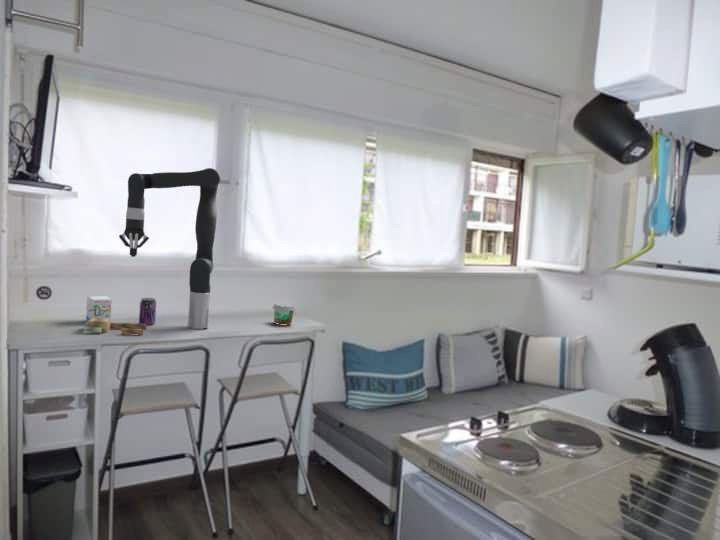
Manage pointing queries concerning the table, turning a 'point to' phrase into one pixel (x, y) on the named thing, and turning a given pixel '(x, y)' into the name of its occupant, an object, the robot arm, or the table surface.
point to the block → (100, 323)
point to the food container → (283, 314)
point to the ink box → (98, 307)
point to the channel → (125, 328)
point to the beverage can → (147, 311)
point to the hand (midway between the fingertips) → (133, 256)
